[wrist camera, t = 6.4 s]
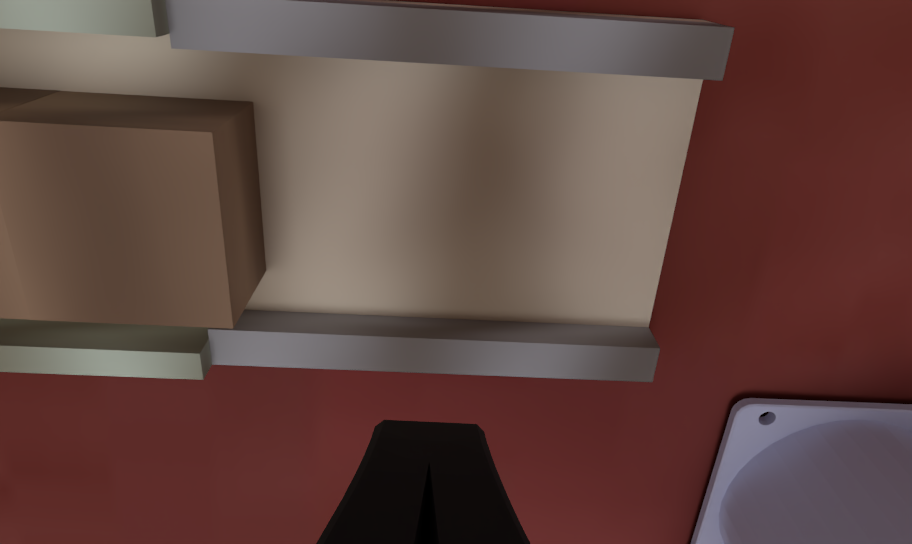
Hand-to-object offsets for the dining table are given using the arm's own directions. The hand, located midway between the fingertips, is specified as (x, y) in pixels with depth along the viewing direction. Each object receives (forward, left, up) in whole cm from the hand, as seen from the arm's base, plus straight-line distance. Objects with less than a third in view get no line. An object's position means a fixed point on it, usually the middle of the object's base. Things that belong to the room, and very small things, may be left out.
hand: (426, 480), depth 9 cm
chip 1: (+7, -1, -9) cm, 11 cm away
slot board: (+5, -1, -10) cm, 11 cm away
